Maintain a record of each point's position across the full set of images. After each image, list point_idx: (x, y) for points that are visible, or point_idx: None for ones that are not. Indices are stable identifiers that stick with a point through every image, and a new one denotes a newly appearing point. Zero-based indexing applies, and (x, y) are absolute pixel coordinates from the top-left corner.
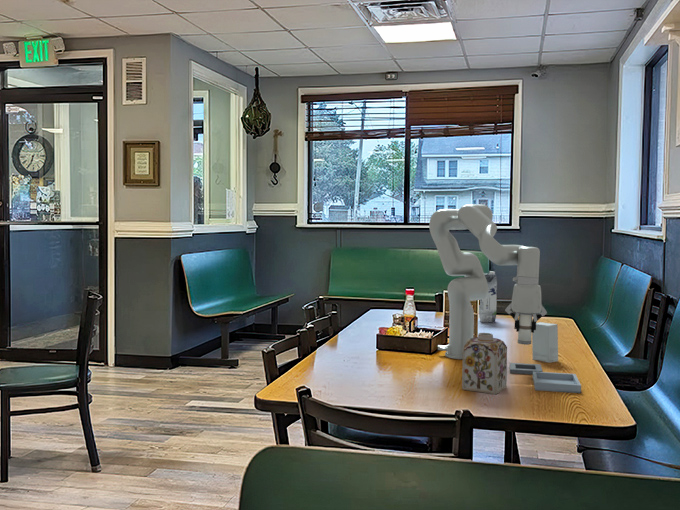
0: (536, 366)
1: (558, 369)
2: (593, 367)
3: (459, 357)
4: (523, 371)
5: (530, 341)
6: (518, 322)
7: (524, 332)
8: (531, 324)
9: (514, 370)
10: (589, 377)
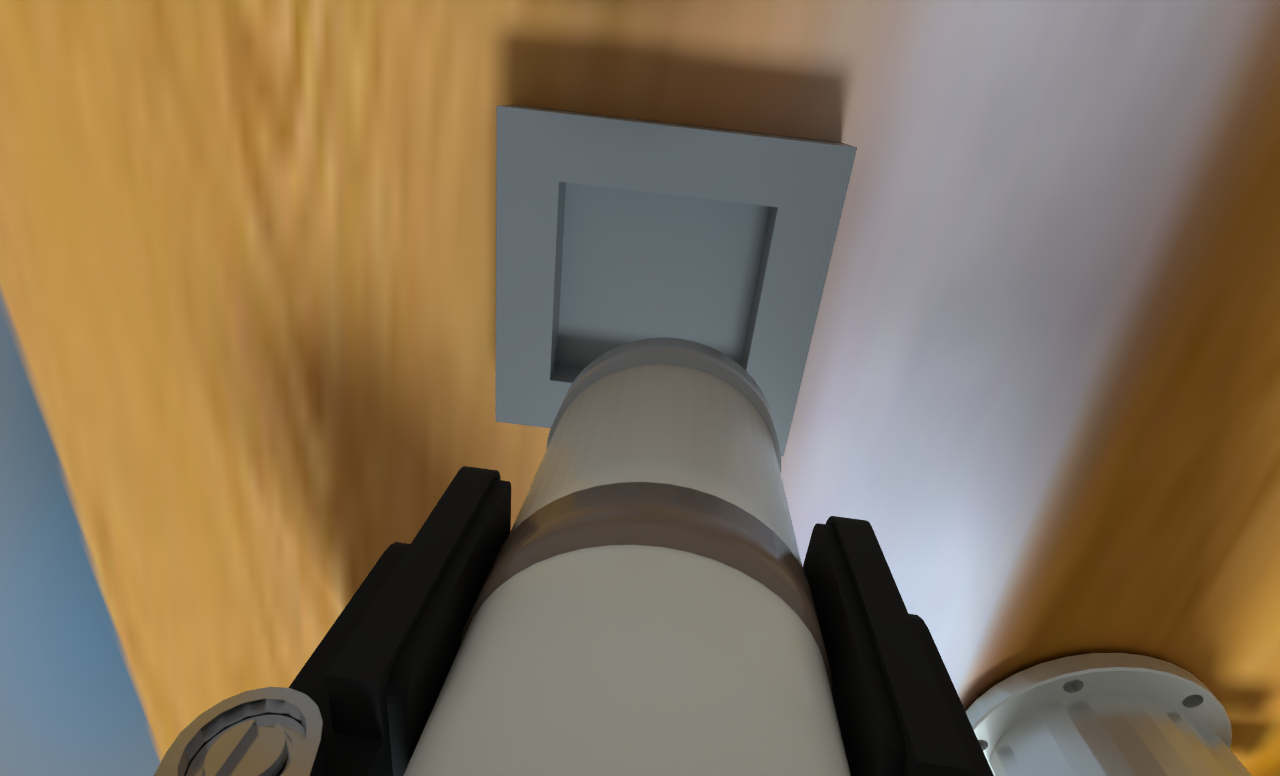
0: (542, 329)
1: (357, 432)
2: (101, 525)
3: (1149, 666)
4: (705, 130)
5: (570, 394)
6: (892, 712)
7: (688, 448)
8: (463, 645)
9: (805, 142)
10: (73, 163)
